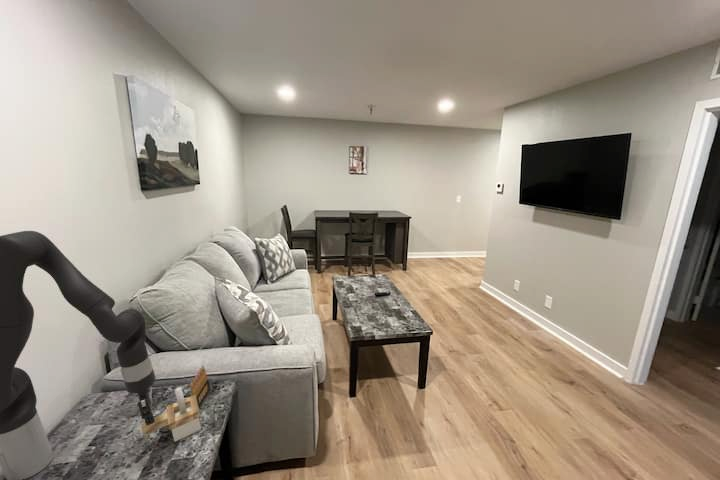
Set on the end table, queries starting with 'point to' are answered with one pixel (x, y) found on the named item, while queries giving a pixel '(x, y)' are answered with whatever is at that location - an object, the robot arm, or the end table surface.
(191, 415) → the oak link
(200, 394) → the ammunition clip
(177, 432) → the ring stand
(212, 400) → the end table surface
